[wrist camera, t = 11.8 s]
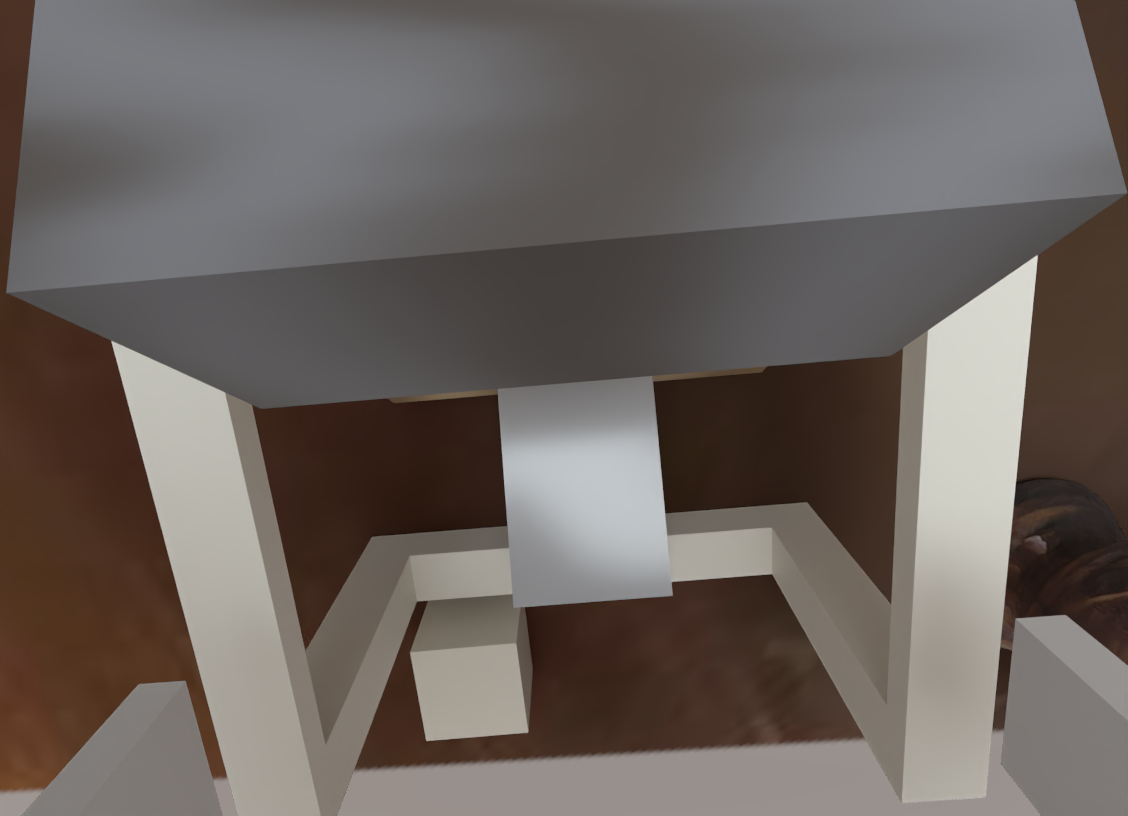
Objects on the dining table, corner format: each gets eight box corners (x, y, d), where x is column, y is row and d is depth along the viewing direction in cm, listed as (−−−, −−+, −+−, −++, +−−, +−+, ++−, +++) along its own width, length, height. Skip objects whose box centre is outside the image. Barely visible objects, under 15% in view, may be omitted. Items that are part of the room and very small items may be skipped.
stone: (497, 386, 23) (513, 608, 22) (652, 373, 23) (672, 595, 22) (513, 401, 28) (526, 581, 27) (640, 390, 28) (656, 571, 27)
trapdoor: (393, 381, 25) (396, 493, 24) (-100, -59, 7) (-155, 307, 6) (758, 350, 25) (774, 462, 24) (1181, -190, 7) (1303, 178, 6)
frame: (379, 579, 30) (246, 847, 17) (309, 185, 25) (64, 163, 13) (806, 546, 29) (985, 797, 17) (810, 139, 25) (1055, 71, 13)
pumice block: (443, 675, 31) (426, 741, 27) (429, 595, 30) (410, 652, 26) (532, 667, 31) (528, 732, 27) (522, 587, 30) (516, 643, 26)
